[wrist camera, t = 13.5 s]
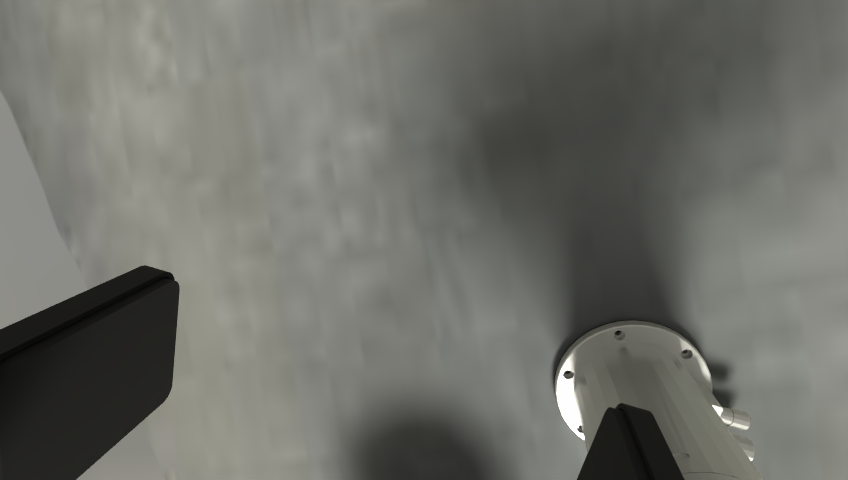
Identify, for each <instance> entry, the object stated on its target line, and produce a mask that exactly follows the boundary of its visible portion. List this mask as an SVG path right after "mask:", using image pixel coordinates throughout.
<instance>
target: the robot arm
mask: <svg viewBox="0 0 848 480" xmlns="http://www.w3.org/2000/svg"><path fill="white" fill-rule="evenodd" d="M178 302H179V284H178V282H177V281H174V276H173V275H172V274H171V273H170V272H166V271H163V270H159V269H156V268H153V267H149V266H145V265H144V266H140V267H138V268H136V269H134V270H131V271H129V272H127V273H125V274H123V275H120V276H118V277H116V278H114V279H111V280H109V281H107V282H105V283H103V284H100V285H98V286H96V287H94V288H91V289H89V290H87V291H85V292H83V293H81V294H78V295H76V296H74V297H71V298H69V299H67V300H65V301H63V302H61V303H58V304H56V305H54V306H51V307H49V308H47V309H45V310H43V311H40V312H38V313H36V314H34V315H32V316H29V317H27V318H25V319H23V320H21V321H18V322H16V323H14V324H12V325H9V326H7V327H5V328H3V329H0V480H76V479H77V478H78V477H79V476H80V475H81V474H83V473H84V472H85V471H86V470H87V469H88V468H90V467H91V466H92V465H93V464H94V463H95V462H96V461H97V460H98V459H100V458H101V457H102V456H103V455H104V454H105V453H106V452H108V451H109V450H110V449H111V448H112V447H113V446H115V445H116V444H117V443H118V442H119V441H120V440H121V439H122V438H124V437H125V436H126V435H127V434H128V433H129V432H130V431H131V430H133V429H134V428H135V427H136V426H137V425H138V424H139V423H141V422H142V421H143V420H144V419H145V418H146V417H147V416H148V415H150V414H151V413H152V412H153V411H154V410H155V409H156V408H158V407H159V406H160V405H161V404H162V403H163V402H164V401H165V400H166V398H167V397H168V395H169V393H170V391H171V388H172V380H173V367H174V354H175V341H176V328H177V315H178ZM616 331H619V332H618V333H615V332H616ZM683 350H684V351H683ZM566 370H569V371H566ZM712 390H713V385H712V379H711V374H710V371H709V369H708V366H707V364H706V362H705V360H704V359H703V357H702V356H701V355H700V353H699V352H698V351H697V349H696V348H695V347H694V346H693V345H692V344H691V343H690V342H689V341H688V340H687V339H686V338H684V337H683V336H682V335H680V334H679V333H677V332H676V331H673V330H671V329H669V328H667V327H665V326H662V325H659V324H655V323H651V322H645V321H635V320H632V321H618V322H614V323H610V324H606V325H603V326H600V327H598V328H596V329H593V330H591V331H589V332H588V333H586V334H585V335H583V336H582V337H580V338H579V339H578V340H577V341H575V342H574V343H573V344H572V345H571V346H570V347H569V348H568V350H567V351H566V353H565V354H564V356H563V357H562V359H561V361H560V363H559V366H558V368H557V371H556V376H555V396H556V401H557V405H558V408H559V411H560V413H561V416H562V417H563V419H564V420H565V422H566V424H567V425H568V427H569V428H570V429H571V430H572V431H573V432H574V433H575V434H576V435H577V436H579V437H580V438H581V439H583V440H584V441H585V443H586V447H587V451H588V454H587V457H586V459H585V461H584V464H583V466H582V469H581V471H580V474H579V476H578V478H577V480H764V479H763V478H762V476H761V475H760V474H759V472H758V471H757V469H756V468H755V466H754V465H753V464H752V462H751V461H752V459H753V457H754V453H755V452H754V445H753V443H752V441H750V440H749V439H747V438H743V437H740V436H737V435H733V434H732V433H731V432H730V431H729V429H728V428H727V426H730V427H734V428H737V429H741V430H747V429H748V428H749V426H750V417H749V414H747V413H745V412H742V411H738V410H735V409H731V408H729V409H728V408H725V407H721V405H720V404H719V402H718V401H717V400H716V398H715V397H714V395H713V394H712ZM725 424H726V425H727V426H726V425H725Z"/></svg>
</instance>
